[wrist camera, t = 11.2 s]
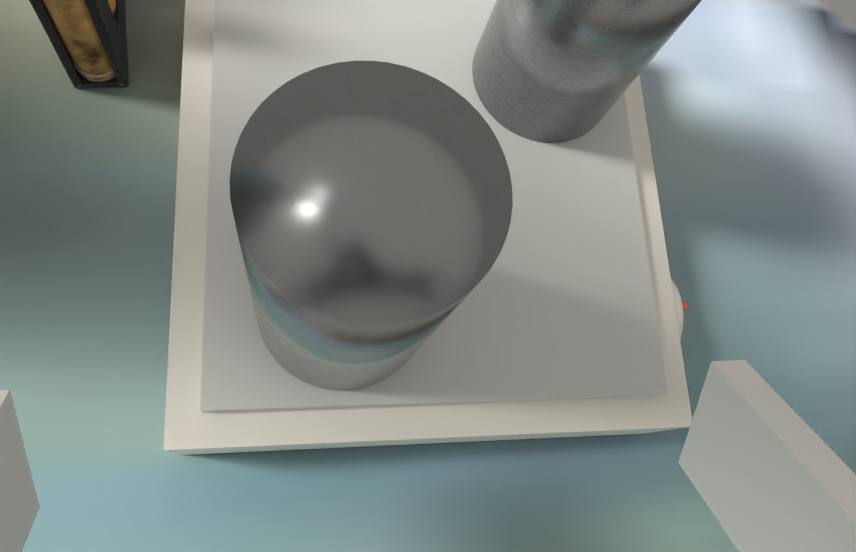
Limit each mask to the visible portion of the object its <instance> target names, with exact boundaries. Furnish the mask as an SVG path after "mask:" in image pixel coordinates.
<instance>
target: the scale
mask: <svg viewBox="0 0 856 552" xmlns="http://www.w3.org/2000/svg"><path fill="white" fill-rule="evenodd" d="M495 2H496V0H185V16H184V37H183V57H182V78H181V99H180V119H179V140H178V161H177V181H176V202H175V222H174V243H173V264H172V284H171V305H170V326H169V346H168V367H167V388H166V408H165V429H164V449H163V450H165V451H169V452H173V453H177V454H181V455H192V454H214V453H235V452H257V451H279V450H300V449H322V448H344V447H365V446H387V445H409V444H430V443H452V442H474V441H495V440H517V439H539V438H560V437H582V436H604V435H625V434H644V433H651V432H658V431H665V430H672V429H679V428H686V427H690V425H691V422H692V414H691V408H690V401H689V395H688V388H687V381H686V375H685V368H684V362H683V355H682V349H681V342H680V339H681V336H682V331H683V319H684V316H683V311H685V310H687V309H689V308H688V302H682V300H681V296H680V293H679V290H678V288H677V286H676V284H675V283H674V281H673V280H672V279H671V276H670V270H669V263H668V257H667V250H666V244H665V237H664V230H663V224H662V217H661V211H660V204H659V198H658V191H657V184H656V178H655V171H654V165H653V158H652V152H651V145H650V139H649V132H648V125H647V119H646V112H645V106H644V99H643V93H642V86H641V79H640V74H639V75H638V76H637V78H636V79H635V80H634V81H633V82H632V83H631V85H630V86H629V87H628V88H627V89H626V91H625V92H624V93H623V94H622V95H621V97H620V98H619V99H618V100H617V101H616V102H615V104H614V105H613V106H612V107H611V108H610V110H609V111H608V112H607V113H606V114H605V116H604V117H603V118H602V119H601V120H600V121H599V123H598V124H597V125H596V126H595V127H594V128H593V129H592V130H591V131H589V132H588V133H586V134H585V135H583V136H581V137H579V138H577V139H574V140H571V141H567V142H561V143H542V142H537V141H532V140H529V139H526V138H523V137H521V136H518V135H516V134H514V133H512V132H511V131H509V130H508V129H506V128H505V127H503V126H502V125H501V124H500V123H498V122H497V121H496V120H495V119H494V118H493V117H492V116H491V115H490V114H489V112H488V111H487V110H486V109H485V107H484V106H483V104H482V102H481V101H480V99H479V97H478V94H477V92H476V89H475V86H474V82H473V76H472V63H473V57H474V54H475V50H476V48H477V45H478V43H479V40H480V38H481V36H482V33H483V31H484V28H485V26H486V24H487V21H488V19H489V16H490V14H491V12H492V9H493V7H494V4H495ZM346 61H380V62H389V63H393V64H398V65H402V66H406V67H409V68H412V69H415V70H418V71H421V72H423V73H425V74H427V75H429V76H432V77H434V78H436V79H438V80H440V81H441V82H443V83H444V84H446V85H447V86H449V87H451V88H452V89H454V90H455V91H456V92H457V93H459V94H460V95H461V96H462V97H464V98H465V99H466V100H467V101H468V102H469V103H470V104H471V105H472V106H473V107H474V108H475V109H476V110H477V111H478V112H479V113H480V114H481V116H482V117H483V118H484V119H485V121H486V122H487V123H488V125H489V126H490V128H491V129H492V131H493V133H494V134H495V136H496V138H497V139H498V141H499V143H500V146H501V148H502V150H503V153H504V155H505V158H506V161H507V164H508V168H509V171H510V177H511V183H512V197H513V206H512V215H511V222H510V226H509V230H508V234H507V238H506V240H505V243H504V245H503V247H502V250H501V252H500V254H499V256H498V258H497V259H496V261H495V263H494V264H493V266H492V268H491V269H490V270H489V271H488V273H487V274H486V275H485V276H484V278H483V279H482V280H481V281H480V282H479V283H478V285H477V286H476V287H475V288H474V289H473V290H472V291H471V292H470V293H469V294H468V295H467V296H466V298H465V299H464V300H463V301H462V302H461V303H460V304H459V305H458V306H457V307H456V308H455V310H454V311H453V312H452V313H451V314H450V315H449V316H448V317H447V318H446V319H445V320H444V321H443V323H442V324H441V325H440V326H439V327H438V328H437V329H436V330H435V331H434V332H433V333H432V334H431V336H430V337H429V338H428V339H427V340H426V341H425V342H424V343H423V344H422V345H421V346H420V347H419V349H418V350H417V351H416V352H415V353H414V354H413V355H412V356H411V357H410V358H409V359H408V360H407V362H406V363H405V364H404V365H403V366H402V367H401V368H399V369H398V370H397V371H396V372H395V373H393V374H392V375H391V376H389V377H388V378H386V379H384V380H382V381H381V382H379V383H377V384H374V385H371V386H369V387H365V388H361V389H356V390H347V391H339V390H328V389H323V388H319V387H316V386H312V385H310V384H308V383H305V382H303V381H301V380H299V379H298V378H296V377H294V376H293V375H291V374H290V373H289V372H288V371H286V370H285V369H284V368H283V367H282V366H281V365H280V364H279V363H278V362H277V361H276V360H275V359H274V357H273V356H272V354H271V353H270V352H269V350H268V348H267V346H266V344H265V343H264V341H263V338H262V335H261V332H260V330H259V326H258V321H257V317H256V313H255V308H254V304H253V299H252V295H251V291H250V286H249V282H248V278H247V273H246V269H245V264H244V260H243V256H242V251H241V247H240V243H239V238H238V234H237V230H236V225H235V221H234V216H233V211H232V206H231V201H230V184H229V180H230V170H231V162H232V158H233V155H234V151H235V147H236V144H237V142H238V139H239V137H240V135H241V132H242V130H243V128H244V127H245V125H246V123H247V122H248V120H249V118H250V117H251V115H252V114H253V113H254V112H255V110H256V109H257V108H258V107H259V105H260V104H261V103H262V102H263V101H264V100H265V99H266V98H267V97H268V96H269V95H270V94H272V93H273V92H274V91H275V90H276V89H278V88H279V87H281V86H282V85H283V84H285V83H286V82H288V81H289V80H291V79H293V78H295V77H297V76H299V75H301V74H302V73H305V72H307V71H310V70H313V69H315V68H318V67H321V66H325V65H329V64H333V63H338V62H346Z"/></svg>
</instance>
